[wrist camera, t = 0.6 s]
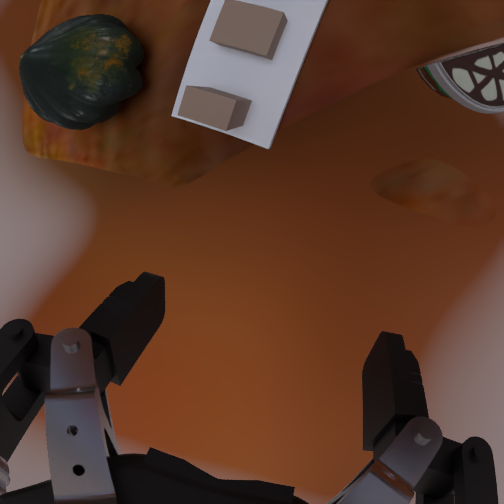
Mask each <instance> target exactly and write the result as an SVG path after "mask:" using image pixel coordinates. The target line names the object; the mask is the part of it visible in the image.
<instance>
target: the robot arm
mask: <svg viewBox="0 0 504 504" xmlns="http://www.w3.org/2000/svg"><path fill="white" fill-rule="evenodd" d="M164 315H165V280H164V277H162V276H158V275H154V274H151V273H148V272H143V273H142V274H141V275H140V276H139V277H138V278H137V279H136V280H135V281H134V282H131V281H128V282H126V283H124V284H122V285H120V286H118V287H116V288H115V290H114V291H113V292H112V293H111V294H110V295H109V297H107V298H106V299H105V300H104V301H103V303H102V304H100V305H99V306H98V307H97V308H96V310H95V311H94V312H93V313H92V314H91V315H90V316H89V317H88V318H87V319H86V320H85V321H84V323H83V324H82V325H81V326H80V327H79V328H67V329H64V330H62V331H60V332H58V333H57V334H56V335H55V336H51V335H44V334H39V333H35V331H34V328H33V326H32V324H31V323H30V322H29V321H27V320H25V319H15V320H12V321H9V322H8V323H6V324H5V325H4V326H3V327H2V328H1V329H0V504H308V503H307V502H306V501H304V500H302V499H300V498H298V497H296V496H294V495H293V493H294V488H295V487H291V486H285V485H280V484H274V483H269V482H264V481H259V480H222V479H217V478H215V477H213V476H211V475H209V474H208V473H206V472H204V471H202V470H200V469H199V468H197V467H195V466H194V465H192V464H190V463H189V462H187V461H185V460H184V459H181V458H178V457H175V456H172V455H169V454H167V453H164V452H161V451H159V450H156V449H154V448H151V447H150V449H149V451H148V453H147V455H146V454H122V455H121V453H120V449H119V446H118V443H117V440H116V437H115V433H114V428H113V424H112V419H111V414H110V409H109V403H108V398H107V392H106V387H107V385H108V384H109V382H110V381H111V382H113V383H115V384H118V385H121V384H122V382H123V381H124V379H125V378H126V376H127V375H128V373H129V372H130V370H131V369H132V367H133V366H134V364H135V362H136V361H137V360H138V358H139V356H140V355H141V353H142V352H143V351H144V349H145V347H146V346H147V344H148V343H149V342H150V340H151V339H152V337H153V336H154V334H155V333H156V331H157V329H158V328H159V327H160V325H161V323H162V321H163V318H164ZM16 373H17V375H18V376H17V377H16V378H15V380H14V381H13V382H12V384H11V385H10V386H9V388H8V389H7V390H6V392H5V393H4V394H3V396H2V393H3V390H4V389H5V387H6V386H7V384H8V383H9V382H10V380H11V379H12V378H13V377H14V375H15V374H16ZM362 389H363V450H366V451H373V459H372V460H371V461H370V462H369V463H368V464H367V465H366V466H365V467H364V468H363V469H362V470H361V471H360V472H359V474H358V475H357V476H356V477H355V478H354V479H353V480H352V481H351V482H350V483H349V484H348V485H347V486H346V487H345V488H344V489H343V490H342V491H341V492H340V493H339V494H338V495H337V496H335V497H334V498H333V499H332V500H331V501H330V502H328V504H409V503H410V501H411V500H412V498H413V496H414V492H413V491H415V492H416V504H498V494H497V484H496V475H495V467H494V460H493V453H492V450H491V447H490V446H489V444H488V443H487V442H486V441H485V440H484V439H482V438H480V437H470V438H468V439H467V440H466V441H465V442H464V443H462V444H461V443H458V442H456V441H453V440H450V439H447V438H445V437H443V436H442V432H441V429H440V427H439V426H438V425H437V424H436V423H435V422H434V421H433V420H431V419H429V416H428V410H427V404H426V398H425V393H424V388H423V385H422V378H421V375H420V369H419V364H418V361H417V359H416V358H415V356H414V355H413V353H412V352H411V351H409V350H406V349H405V345H404V340H403V337H402V335H400V334H395V333H389V332H385V331H382V332H381V333H380V334H379V336H378V338H377V340H376V342H375V344H374V346H373V348H372V349H371V351H370V353H369V355H368V357H367V359H366V361H365V363H364V367H363V371H362ZM44 403H45V424H46V438H47V449H48V458H49V466H50V474H51V480H47V481H44V482H41V483H38V484H35V485H32V486H29V487H25V488H22V489H18V490H15V491H11V492H7V493H6V486H8V485H9V483H10V477H9V467H8V464H7V462H8V460H9V458H10V457H11V455H12V453H13V452H14V450H15V448H16V446H17V445H18V443H19V442H20V440H21V439H22V437H23V435H24V434H25V432H26V430H27V429H28V427H29V426H30V424H31V422H32V421H33V419H34V418H35V416H36V415H37V413H38V411H39V410H40V409H41V407H42V406H43V404H44Z"/></svg>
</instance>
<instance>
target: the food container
mask: <svg viewBox="0 0 504 504" xmlns="http://www.w3.org/2000/svg"><path fill="white" fill-rule="evenodd" d="M417 71H418V73H419V75H420V77H421V78H422V79H423V80H424V81H425V83H426V84H427V85H428V86H429V87H430V88H431V89H432V90H434V91H435V92H437V93H439V94H440V95H442V96H445V97H448V98H451V99H454V100H455V101H457V102H458V103H460V104H461V105H463V106H465V107H467V108H469V109H471V110H473V111H477V112H480V113H486V114H492V113H499V112H503V111H504V43H501V44H497V45H493V46H489V47H485V48H481V49H477V50H474V51H470V52H467V53H464V54H460V55H457V56H454V57H450V58H447V59H444V60H441V61H438V62H435V63H433V64H429V65H426V66H423V67H421V68H418V69H417Z"/></svg>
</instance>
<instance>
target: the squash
mask: <svg viewBox="0 0 504 504" xmlns="http://www.w3.org/2000/svg"><path fill="white" fill-rule="evenodd" d="M143 58H144V50H143V48H142V46H141V44H140V42H139V40H138V39H137V38H136V37H135V36H134V35H133V34H131V33H130V32H129V31H128V30H127V28H126V26H125V25H124V24H123V22H121V21H120V20H119V19H117V18H115V17H113V16H109V15H104V14H97V15H86V16H79V17H75V18H73V19H70V20H67V21H65V22H63V23H61V24H59V25H57V26H56V27H54V28H52V29H51V30H49V31H48V32H46V33H45V34H44V35H43V36H42V37H41V38H40V39H39V40H38V41H37V42H35V43H34V44H33V45H32V46H30V47H29V48H28V49H27V50H26V51H25V52H24V53H23V54H22V55H21V56H20V67H19V70H20V77H21V83H22V87H23V92H24V95H25V97H26V99H27V101H28V103H29V105H30V106H31V108H32V109H33V111H34V112H35V113H36V114H37V115H38V116H40V117H41V118H42V119H44V120H46V121H48V122H53V123H55V124H57V125H59V126H61V127H65V128H68V129H78V130H83V129H87V128H90V127H92V126H93V125H95V124H97V123H99V122H103V121H105V120H107V119H109V118H111V117H112V116H114V115H115V114H116V113H117V112H118V110H119V108H120V106H121V100H124V99H126V98H129V97H131V96H133V95H134V94H136V93H137V92H138V91H139V90H140V89H141V87H142V84H143V81H142V77H141V74H140V72H139V71H138V70H137V68H136V67H137V66H138V65H139V64H140V63H141V62H142V60H143Z"/></svg>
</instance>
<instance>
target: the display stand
mask: <svg viewBox="0 0 504 504" xmlns="http://www.w3.org/2000/svg"><path fill="white" fill-rule="evenodd" d="M327 3H328V0H211V2H210V4H209V6H208V9H207V11H206V14H205V17H204V19H203V22H202V24H201V27H200V30H199V32H198V35H197V38H196V41H195V43H194V46H193V49H192V52H191V55H190V58H189V61H188V64H187V67H186V70H185V73H184V76H183V79H182V82H181V85H180V88H179V92H178V95H177V98H176V102H175V105H174V109H173V112H172V115H171V116H174V117H177V118H180V119H183V120H186V121H190V122H193V123H196V124H199V125H202V126H205V127H208V128H211V129H214V130H217V131H220V132H223V133H226V134H228V135H231V136H234V137H237V138H240V139H242V140H245V141H248V142H251V143H253V144H256V145H259V146H261V147H264V148H266V149H269V148H270V147H271V145H272V142H273V140H274V137H275V134H276V132H277V129H278V127H279V124H280V121H281V119H282V116H283V114H284V111H285V108H286V106H287V103H288V101H289V98H290V95H291V93H292V90H293V88H294V85H295V83H296V80H297V78H298V75H299V72H300V70H301V67H302V65H303V62H304V60H305V57H306V55H307V52H308V50H309V47H310V45H311V42H312V40H313V37H314V35H315V32H316V30H317V27H318V25H319V22H320V20H321V17H322V15H323V12H324V10H325V8H326V5H327Z"/></svg>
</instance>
